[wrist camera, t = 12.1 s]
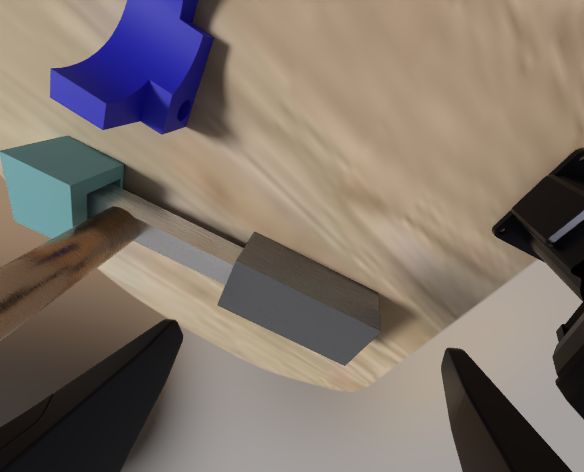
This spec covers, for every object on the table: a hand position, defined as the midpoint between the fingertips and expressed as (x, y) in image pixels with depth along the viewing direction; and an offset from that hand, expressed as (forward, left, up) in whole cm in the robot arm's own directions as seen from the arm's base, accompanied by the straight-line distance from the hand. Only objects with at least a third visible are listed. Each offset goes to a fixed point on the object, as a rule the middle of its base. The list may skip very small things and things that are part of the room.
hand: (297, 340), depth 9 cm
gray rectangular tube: (-2, +9, -13) cm, 16 cm away
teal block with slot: (+18, +9, -13) cm, 24 cm away
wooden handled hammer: (+10, +9, -12) cm, 18 cm away
